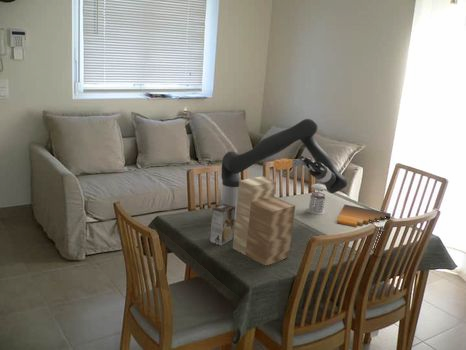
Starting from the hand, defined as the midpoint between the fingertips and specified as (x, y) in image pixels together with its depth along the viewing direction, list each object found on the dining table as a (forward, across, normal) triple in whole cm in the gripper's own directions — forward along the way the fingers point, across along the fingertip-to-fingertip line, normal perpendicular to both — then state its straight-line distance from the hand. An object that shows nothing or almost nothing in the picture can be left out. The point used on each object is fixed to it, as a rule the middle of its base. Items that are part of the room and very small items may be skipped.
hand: (302, 158), depth 234 cm
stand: (+6, +6, +46) cm, 47 cm away
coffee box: (+11, -13, +50) cm, 52 cm away
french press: (-49, -15, +15) cm, 54 cm away
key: (+4, 0, +5) cm, 7 cm away
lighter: (-40, +30, +21) cm, 54 cm away
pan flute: (-62, +7, +9) cm, 63 cm away
